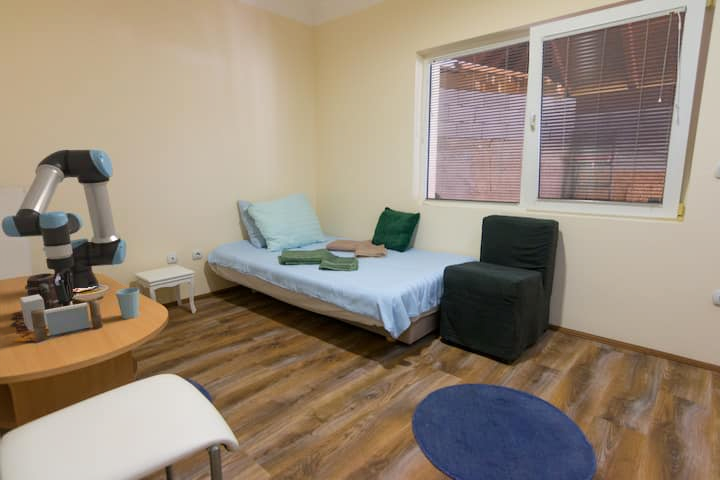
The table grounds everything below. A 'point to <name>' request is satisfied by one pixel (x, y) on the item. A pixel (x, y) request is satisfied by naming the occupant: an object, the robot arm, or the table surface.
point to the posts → (41, 332)
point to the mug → (43, 289)
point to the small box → (31, 308)
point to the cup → (128, 302)
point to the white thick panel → (67, 318)
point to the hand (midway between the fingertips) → (69, 319)
